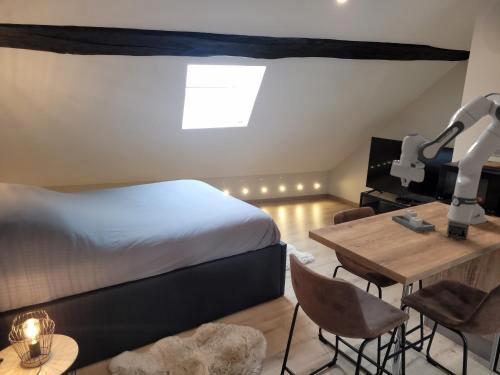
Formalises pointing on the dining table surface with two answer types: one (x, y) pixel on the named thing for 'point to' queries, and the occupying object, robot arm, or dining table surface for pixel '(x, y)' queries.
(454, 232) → the electrical switch
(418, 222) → the white sliding block
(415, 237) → the dining table surface
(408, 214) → the white cube-shaped block
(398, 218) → the switch board
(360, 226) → the dining table surface
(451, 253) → the dining table surface
